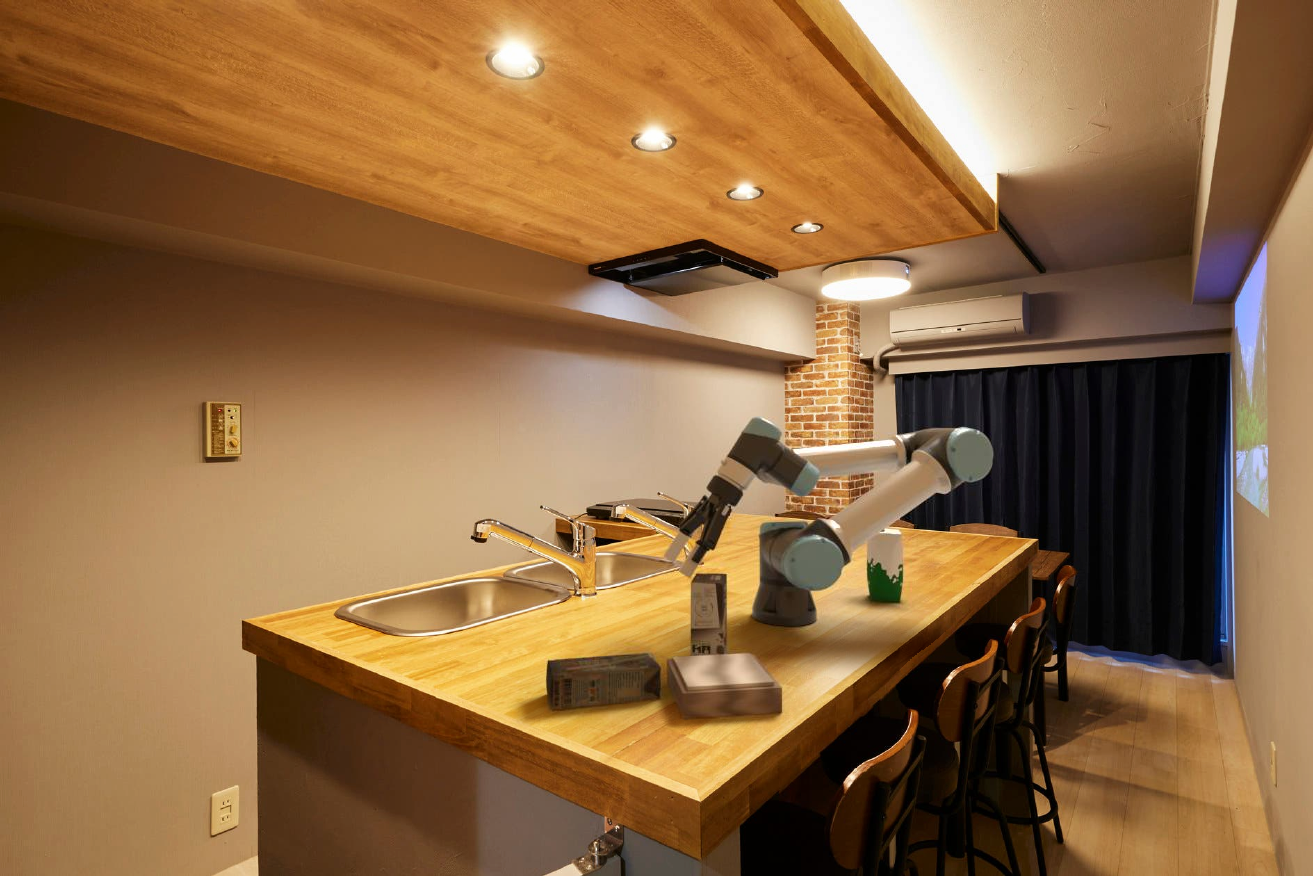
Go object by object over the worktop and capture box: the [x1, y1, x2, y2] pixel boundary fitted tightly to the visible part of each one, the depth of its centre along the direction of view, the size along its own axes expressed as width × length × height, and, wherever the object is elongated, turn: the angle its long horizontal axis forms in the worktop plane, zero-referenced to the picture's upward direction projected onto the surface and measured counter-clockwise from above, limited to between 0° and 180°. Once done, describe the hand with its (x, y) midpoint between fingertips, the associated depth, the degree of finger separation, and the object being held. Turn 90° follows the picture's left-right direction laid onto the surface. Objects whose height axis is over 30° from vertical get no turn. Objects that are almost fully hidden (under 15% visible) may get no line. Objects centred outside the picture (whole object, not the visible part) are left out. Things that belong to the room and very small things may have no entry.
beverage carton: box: [545, 652, 662, 711], centre depth 114 cm, size 8×19×6 cm, turn 105°
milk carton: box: [866, 528, 904, 603], centre depth 179 cm, size 9×9×20 cm
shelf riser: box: [666, 652, 783, 720], centre depth 114 cm, size 16×16×5 cm
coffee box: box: [690, 572, 728, 656], centre depth 132 cm, size 9×6×16 cm
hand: (675, 566), depth 143 cm, fingers open, 13 cm apart
